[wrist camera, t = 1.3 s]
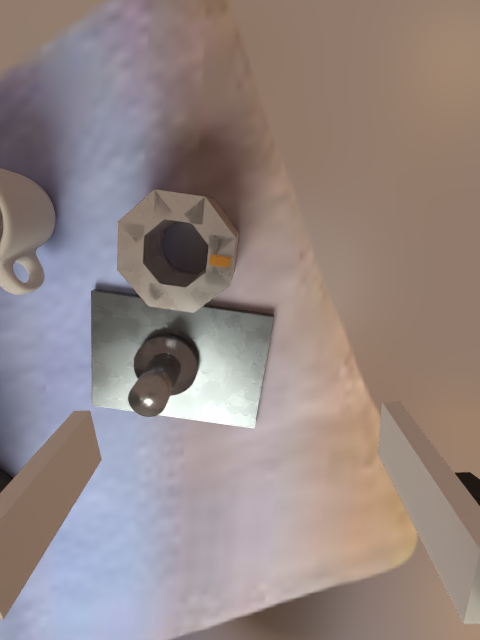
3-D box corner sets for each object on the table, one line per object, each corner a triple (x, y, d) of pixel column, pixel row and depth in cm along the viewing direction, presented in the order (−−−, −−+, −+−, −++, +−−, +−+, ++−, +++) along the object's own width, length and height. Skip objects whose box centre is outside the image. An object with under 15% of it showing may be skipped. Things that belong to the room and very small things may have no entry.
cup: (95, 269, 33) (47, 287, 25) (25, 293, 34) (-42, 317, 26) (42, 153, 29) (-31, 133, 22) (-33, 183, 30) (-128, 175, 23)
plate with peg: (95, 401, 37) (54, 450, 30) (95, 289, 33) (47, 312, 26) (254, 423, 37) (254, 478, 30) (273, 314, 33) (279, 345, 26)
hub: (140, 285, 33) (115, 302, 27) (144, 188, 30) (118, 183, 24) (230, 298, 33) (225, 318, 27) (243, 203, 30) (240, 201, 24)
